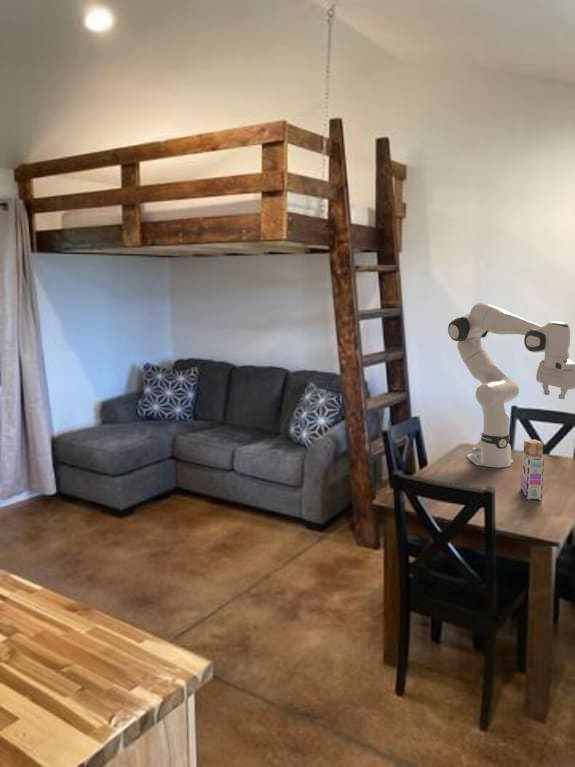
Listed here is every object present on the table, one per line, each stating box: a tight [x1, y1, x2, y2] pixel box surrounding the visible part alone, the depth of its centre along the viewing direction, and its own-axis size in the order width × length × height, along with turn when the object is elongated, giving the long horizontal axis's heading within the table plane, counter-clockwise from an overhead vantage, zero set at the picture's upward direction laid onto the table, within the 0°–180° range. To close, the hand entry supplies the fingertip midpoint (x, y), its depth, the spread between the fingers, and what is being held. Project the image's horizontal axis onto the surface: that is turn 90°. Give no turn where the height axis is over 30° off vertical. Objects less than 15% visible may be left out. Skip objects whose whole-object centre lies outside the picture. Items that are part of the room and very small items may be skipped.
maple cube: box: [523, 439, 544, 456], centre depth 242 cm, size 5×5×5 cm
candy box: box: [520, 449, 545, 501], centre depth 244 cm, size 14×6×16 cm, turn 168°
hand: (553, 396), depth 249 cm, fingers open, 8 cm apart
